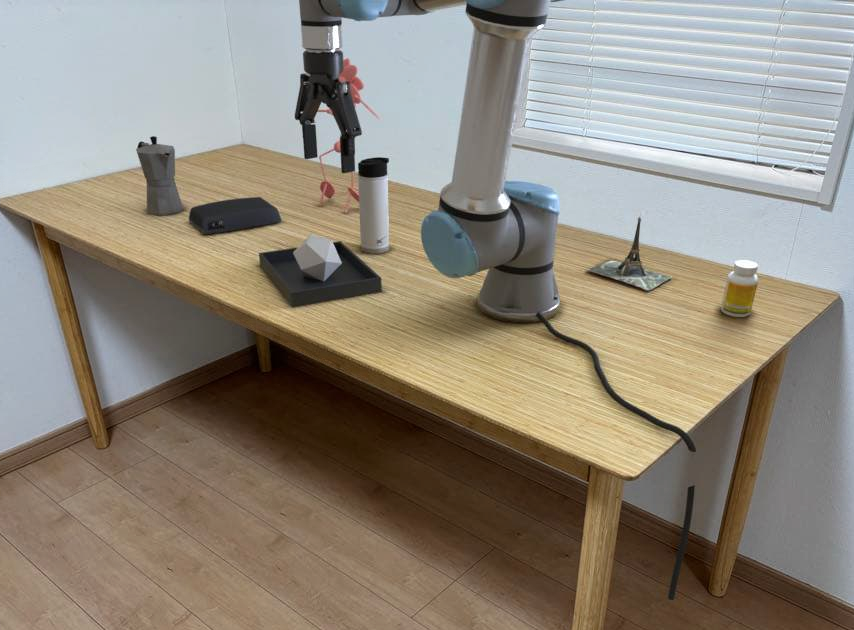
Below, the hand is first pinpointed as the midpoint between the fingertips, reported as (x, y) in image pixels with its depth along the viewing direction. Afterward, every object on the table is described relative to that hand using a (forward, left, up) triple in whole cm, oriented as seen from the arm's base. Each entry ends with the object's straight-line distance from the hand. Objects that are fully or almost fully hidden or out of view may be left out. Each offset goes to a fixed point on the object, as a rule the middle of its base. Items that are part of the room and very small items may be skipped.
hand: (329, 165), depth 160 cm
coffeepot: (+53, +27, -21) cm, 63 cm away
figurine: (+38, -18, -21) cm, 47 cm away
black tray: (-7, +6, -21) cm, 23 cm away
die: (-7, +6, -20) cm, 22 cm away
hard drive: (+35, +13, -21) cm, 43 cm away
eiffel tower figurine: (-32, -53, -21) cm, 65 cm away
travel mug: (+4, -11, -21) cm, 24 cm away
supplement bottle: (-55, -60, -21) cm, 84 cm away
